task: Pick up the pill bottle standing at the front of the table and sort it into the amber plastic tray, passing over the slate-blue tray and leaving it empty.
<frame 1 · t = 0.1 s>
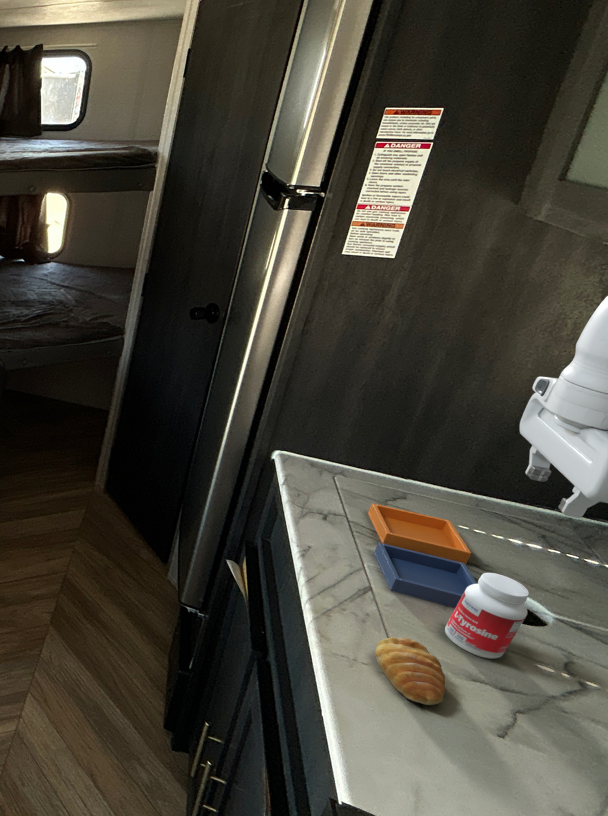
hand: (551, 495, 86), 23 cm above the counter, tool pointing down, fingers open, 8 cm apart
pastry: (408, 678, 86), on the counter
pill bottle: (471, 644, 92), on the counter
blue tray: (425, 582, 103), on the counter
amber tray: (414, 537, 114), on the counter
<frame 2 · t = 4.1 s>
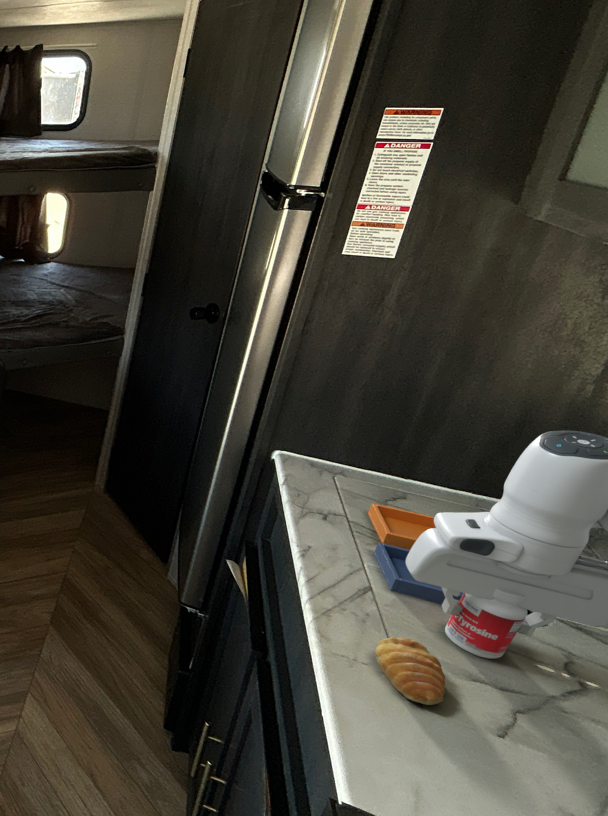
hand: (483, 621, 90), 4 cm above the counter, tool pointing down, fingers closed on pill bottle, 6 cm apart
pill bottle: (471, 644, 92), on the counter, touching gripper
everything else where it was.
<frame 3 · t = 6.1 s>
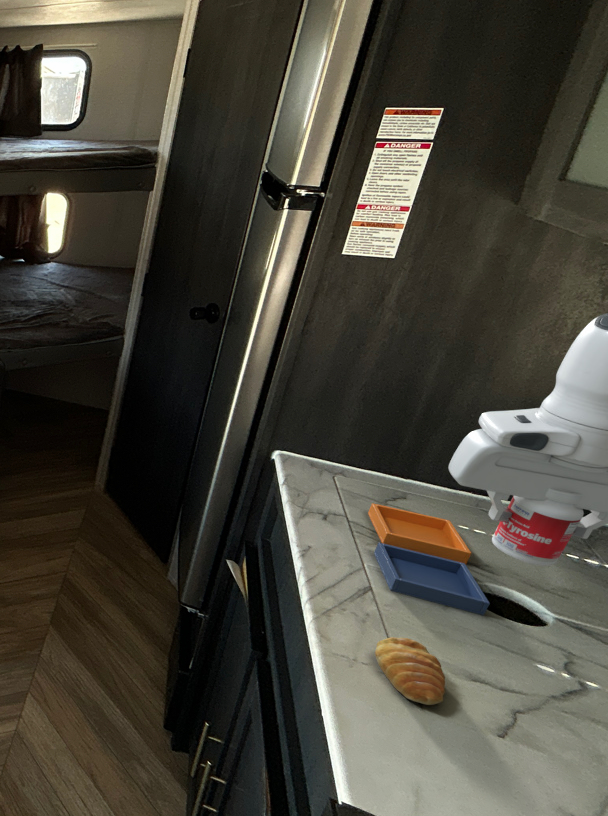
hand: (535, 526, 84), 20 cm above the counter, tool pointing down, fingers closed on pill bottle, 6 cm apart
pill bottle: (521, 553, 86), point 16 cm above the counter, touching gripper
everything else where it was.
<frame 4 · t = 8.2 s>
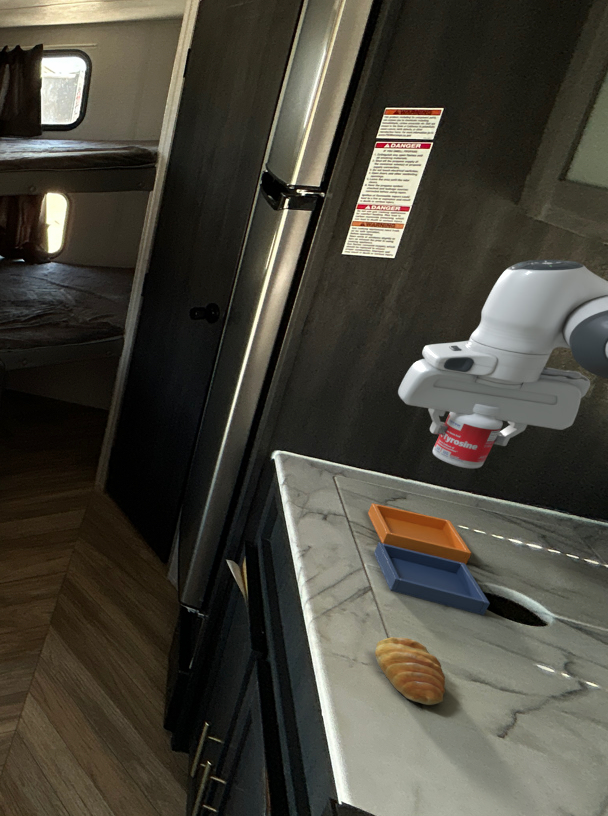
hand: (465, 438, 104), 21 cm above the counter, tool pointing down, fingers closed on pill bottle, 6 cm apart
pill bottle: (455, 460, 106), point 17 cm above the counter, touching gripper
everything else where it was.
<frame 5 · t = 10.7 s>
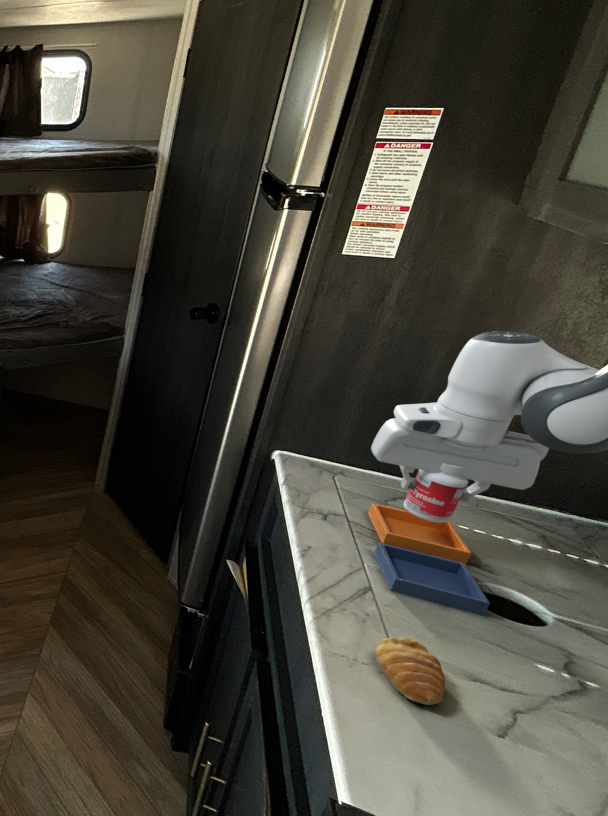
hand: (434, 493, 110), 10 cm above the counter, tool pointing down, fingers closed on pill bottle, 6 cm apart
pill bottle: (425, 514, 112), point 5 cm above the counter, touching gripper
everything else where it was.
when the fingers open (4 cm above the counter, at t = 12.5 s): pill bottle stays where it is, resting on amber tray.
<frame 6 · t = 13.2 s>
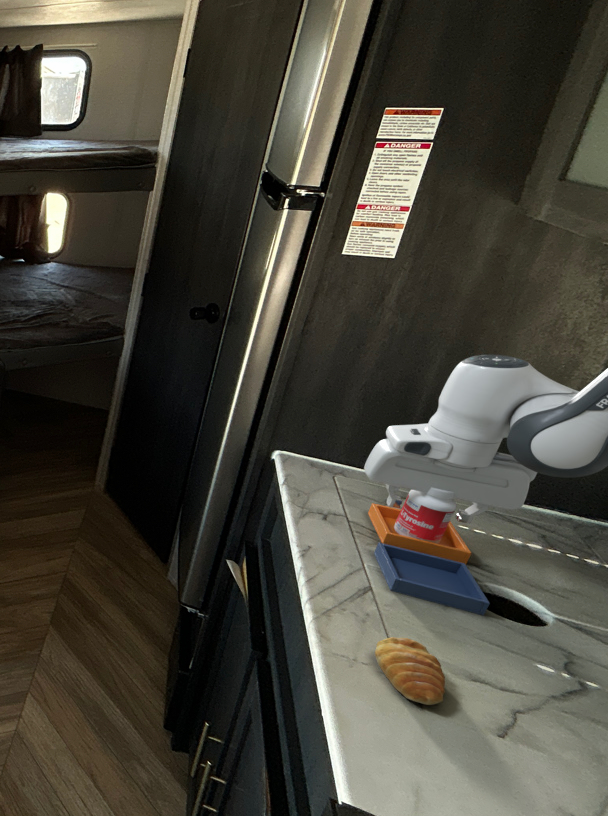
hand: (426, 513, 111), 5 cm above the counter, tool pointing down, fingers open, 8 cm apart
pill bottle: (415, 536, 113), resting on amber tray
everything else where it was.
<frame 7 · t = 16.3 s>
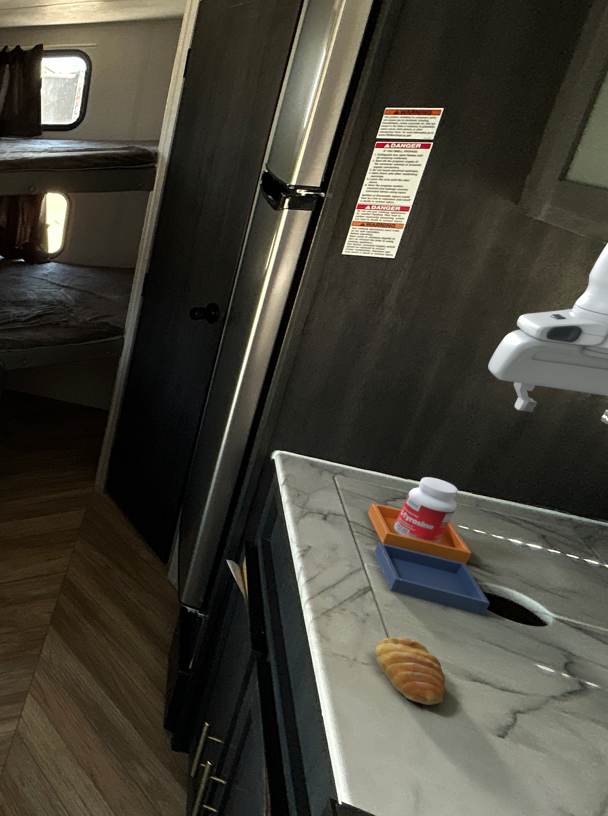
hand: (565, 416, 95), 29 cm above the counter, tool pointing down, fingers open, 8 cm apart
nothing on the counter moved.
at the end: pill bottle inside the target area in the amber tray (0.1 cm from its centre), point 0.2 cm above the amber tray's base; pill bottle tilted 0°; pill bottle touching amber tray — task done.
